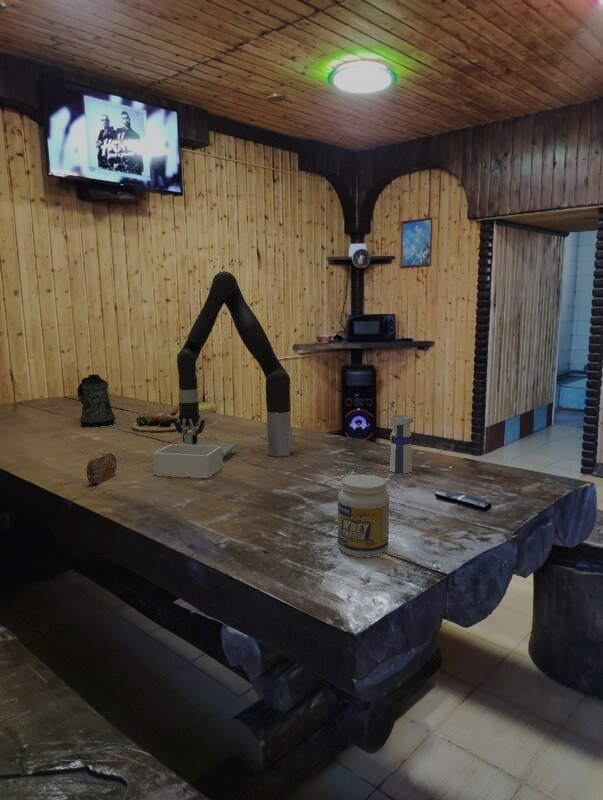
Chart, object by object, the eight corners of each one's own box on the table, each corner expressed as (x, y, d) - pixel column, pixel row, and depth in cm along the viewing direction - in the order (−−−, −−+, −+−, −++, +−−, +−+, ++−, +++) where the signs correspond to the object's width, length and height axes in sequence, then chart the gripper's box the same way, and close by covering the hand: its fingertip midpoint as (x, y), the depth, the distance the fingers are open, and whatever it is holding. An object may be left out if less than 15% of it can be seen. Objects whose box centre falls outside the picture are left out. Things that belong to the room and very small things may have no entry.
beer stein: (108, 428, 279) (105, 377, 275) (69, 428, 279) (65, 377, 276) (119, 421, 296) (117, 373, 292) (82, 421, 296) (79, 373, 292)
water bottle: (386, 473, 199) (387, 402, 195) (391, 466, 207) (392, 398, 203) (409, 475, 196) (411, 403, 192) (413, 468, 204) (415, 399, 200)
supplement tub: (330, 555, 134) (330, 485, 131) (345, 535, 145) (345, 471, 142) (382, 562, 129) (383, 490, 127) (393, 542, 141) (394, 475, 138)
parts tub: (222, 467, 208) (222, 446, 206) (208, 478, 194) (207, 456, 193) (171, 464, 212) (170, 443, 211) (154, 475, 199) (152, 453, 197)
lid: (237, 450, 228) (236, 431, 227) (224, 459, 215) (224, 439, 213) (189, 447, 233) (188, 429, 232) (174, 456, 219) (173, 437, 218)
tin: (94, 487, 187) (92, 462, 185) (85, 486, 187) (83, 461, 186) (117, 474, 201) (116, 450, 200) (109, 473, 202) (108, 450, 201)
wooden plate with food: (167, 418, 305) (166, 402, 303) (211, 423, 287) (210, 407, 285) (117, 430, 279) (116, 413, 277) (163, 437, 261) (161, 419, 259)
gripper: (209, 399, 224) (210, 442, 227) (176, 398, 227) (177, 441, 230) (201, 402, 217) (203, 447, 219) (167, 401, 220) (169, 445, 223)
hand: (190, 443), depth 225 cm, fingers closed on lid, 3 cm apart
